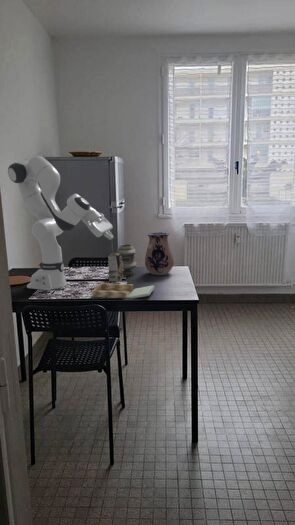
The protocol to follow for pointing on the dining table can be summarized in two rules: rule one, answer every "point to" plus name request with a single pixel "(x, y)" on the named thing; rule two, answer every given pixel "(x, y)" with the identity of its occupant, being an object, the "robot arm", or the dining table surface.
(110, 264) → the coffee box
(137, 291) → the pale green flat slab
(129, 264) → the apothecary jar
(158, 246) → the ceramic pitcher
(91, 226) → the robot arm
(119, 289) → the truck bed crate
